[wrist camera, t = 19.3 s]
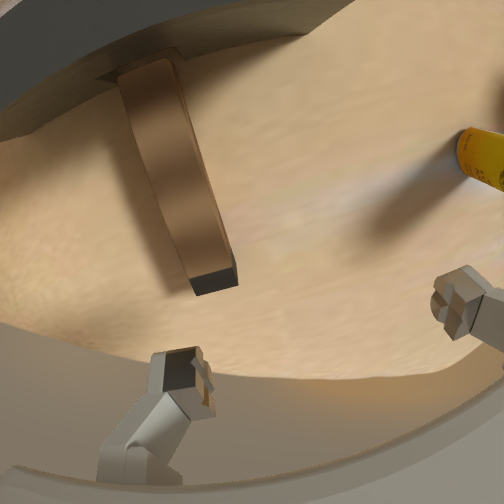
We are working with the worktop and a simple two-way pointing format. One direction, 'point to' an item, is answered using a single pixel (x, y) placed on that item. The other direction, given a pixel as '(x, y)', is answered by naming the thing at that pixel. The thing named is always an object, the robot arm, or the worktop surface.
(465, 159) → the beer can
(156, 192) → the rod
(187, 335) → the worktop surface
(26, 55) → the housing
